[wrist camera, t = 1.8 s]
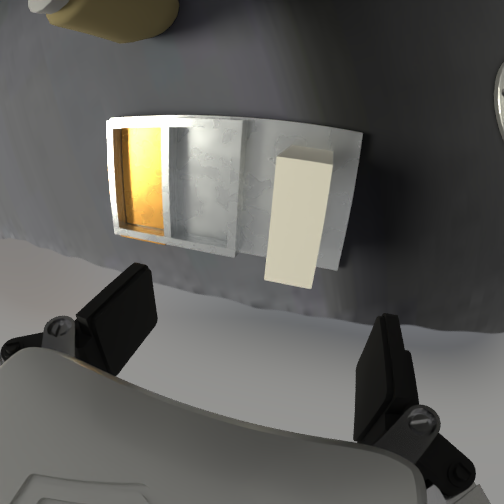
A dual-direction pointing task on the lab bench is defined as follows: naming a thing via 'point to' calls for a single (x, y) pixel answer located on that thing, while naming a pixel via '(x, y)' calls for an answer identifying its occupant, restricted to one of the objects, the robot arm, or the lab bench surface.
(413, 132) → the lab bench surface
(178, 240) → the grey framed tray board
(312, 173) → the tall ivory prism
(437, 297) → the lab bench surface
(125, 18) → the squeeze bottle
